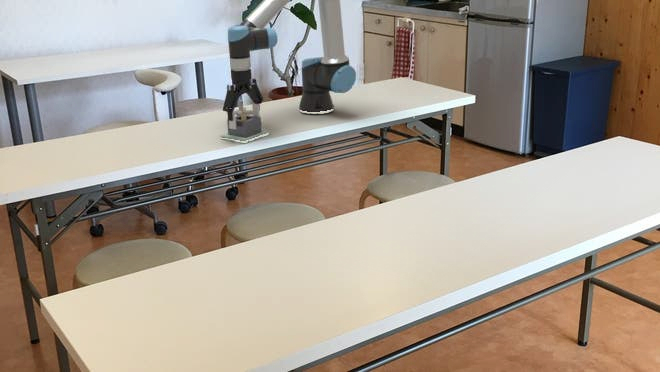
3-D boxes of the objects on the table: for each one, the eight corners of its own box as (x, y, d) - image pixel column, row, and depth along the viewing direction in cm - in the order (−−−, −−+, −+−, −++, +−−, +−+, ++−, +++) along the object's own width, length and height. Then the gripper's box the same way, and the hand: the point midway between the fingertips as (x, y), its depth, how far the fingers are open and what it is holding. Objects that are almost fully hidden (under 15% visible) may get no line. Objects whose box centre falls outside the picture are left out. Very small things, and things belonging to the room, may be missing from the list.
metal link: (243, 129, 275) (243, 114, 273) (261, 132, 270) (260, 117, 268) (228, 134, 268) (227, 119, 266) (246, 137, 264) (245, 122, 262)
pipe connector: (256, 121, 292) (255, 97, 289) (251, 127, 283) (250, 103, 280) (232, 121, 293) (231, 97, 290) (227, 127, 284) (225, 103, 281)
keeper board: (245, 130, 279) (243, 108, 276) (268, 135, 272) (267, 112, 269) (220, 139, 268) (219, 116, 265) (244, 143, 261) (243, 120, 258)
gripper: (255, 62, 273) (258, 115, 280) (209, 74, 254) (214, 131, 261) (270, 64, 269) (273, 118, 276) (225, 75, 250) (230, 133, 257)
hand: (245, 124), depth 268 cm, fingers open, 13 cm apart
